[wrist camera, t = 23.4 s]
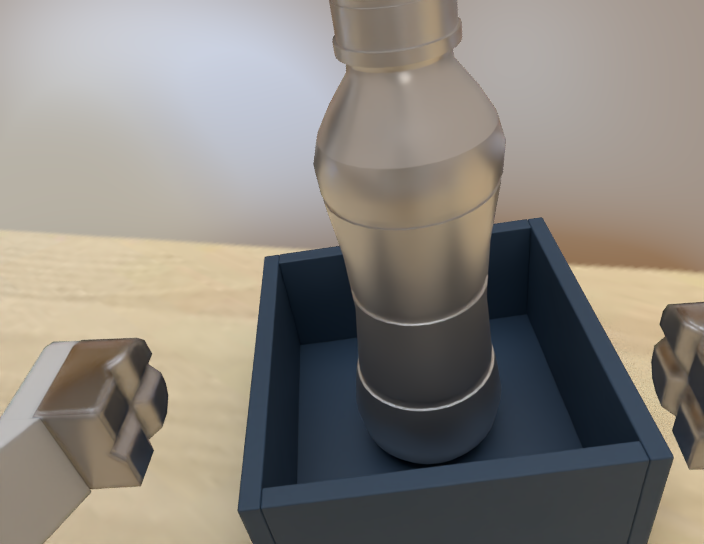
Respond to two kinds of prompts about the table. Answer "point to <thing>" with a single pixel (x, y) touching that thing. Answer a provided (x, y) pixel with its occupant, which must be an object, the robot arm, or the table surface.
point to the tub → (479, 463)
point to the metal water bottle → (414, 223)
